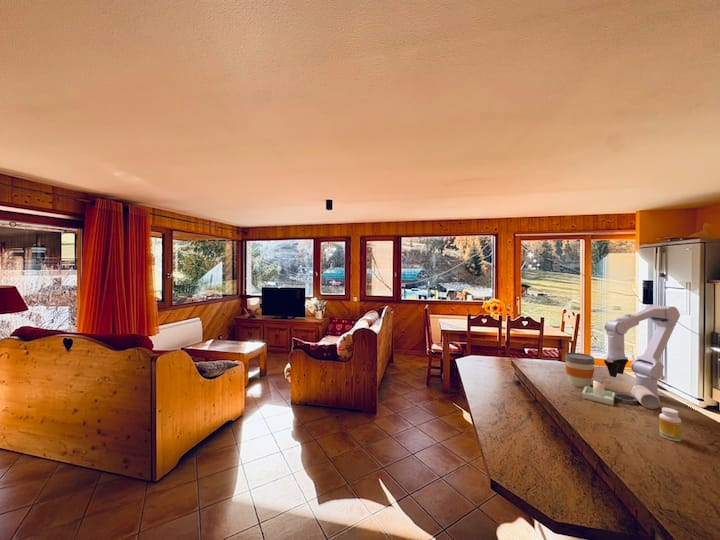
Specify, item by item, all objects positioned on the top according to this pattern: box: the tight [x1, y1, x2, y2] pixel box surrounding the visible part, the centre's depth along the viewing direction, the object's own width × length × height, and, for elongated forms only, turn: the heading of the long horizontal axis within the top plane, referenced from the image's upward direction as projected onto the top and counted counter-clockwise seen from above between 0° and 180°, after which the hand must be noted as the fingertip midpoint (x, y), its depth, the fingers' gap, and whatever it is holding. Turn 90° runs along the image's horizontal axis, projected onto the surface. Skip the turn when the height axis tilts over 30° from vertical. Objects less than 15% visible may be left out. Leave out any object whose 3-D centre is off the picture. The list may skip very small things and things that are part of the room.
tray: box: [581, 386, 616, 406], centre depth 135 cm, size 11×11×2 cm
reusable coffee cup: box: [564, 352, 595, 389], centre depth 151 cm, size 13×12×15 cm
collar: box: [614, 392, 639, 406], centre depth 132 cm, size 8×8×2 cm
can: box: [630, 384, 661, 410], centre depth 129 cm, size 6×6×12 cm
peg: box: [592, 378, 605, 397], centre depth 135 cm, size 4×4×8 cm
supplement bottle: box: [658, 407, 683, 442], centre depth 103 cm, size 5×5×10 cm
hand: (616, 375), depth 136 cm, fingers open, 7 cm apart
